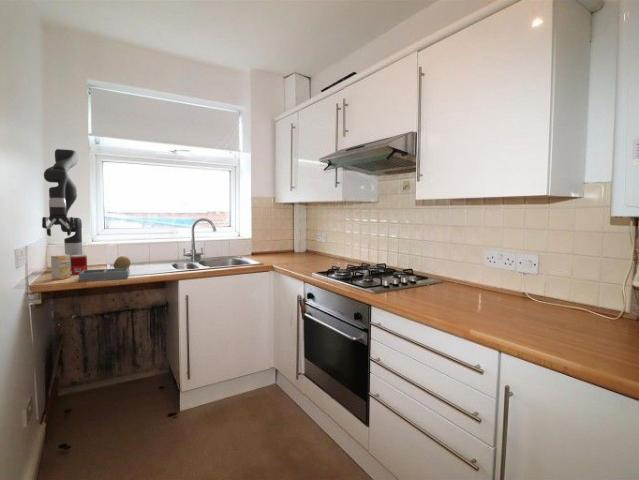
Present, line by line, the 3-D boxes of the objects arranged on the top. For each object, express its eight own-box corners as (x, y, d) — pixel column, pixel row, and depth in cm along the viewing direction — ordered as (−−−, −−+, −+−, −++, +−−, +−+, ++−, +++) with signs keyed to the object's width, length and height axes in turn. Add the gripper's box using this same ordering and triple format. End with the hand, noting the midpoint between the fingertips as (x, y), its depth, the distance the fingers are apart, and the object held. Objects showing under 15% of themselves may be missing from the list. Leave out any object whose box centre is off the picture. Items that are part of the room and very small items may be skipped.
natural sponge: (113, 274, 211) (113, 257, 210) (114, 271, 219) (113, 255, 218) (130, 273, 215) (130, 256, 214) (130, 270, 223) (130, 255, 222)
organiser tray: (83, 277, 201) (83, 270, 200) (129, 274, 210) (129, 267, 210) (79, 281, 189) (78, 273, 189) (127, 278, 198) (127, 271, 198)
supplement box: (60, 280, 192) (59, 256, 191) (51, 279, 192) (50, 256, 191) (71, 277, 200) (70, 254, 199) (62, 277, 200) (61, 254, 199)
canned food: (90, 273, 214) (89, 255, 213) (76, 275, 207) (75, 256, 206) (82, 272, 217) (81, 254, 216) (68, 274, 210) (67, 255, 209)
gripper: (74, 206, 199) (76, 235, 200) (43, 206, 193) (45, 235, 195) (71, 206, 192) (73, 236, 194) (39, 206, 186) (41, 236, 188)
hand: (59, 235), depth 194 cm, fingers open, 8 cm apart
